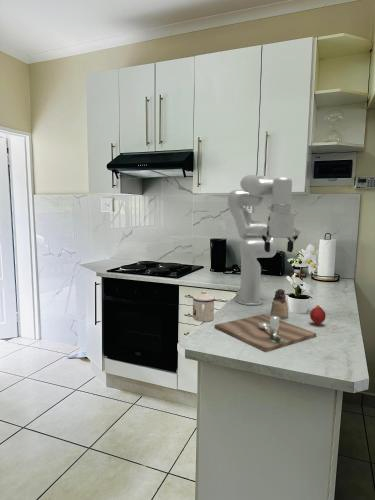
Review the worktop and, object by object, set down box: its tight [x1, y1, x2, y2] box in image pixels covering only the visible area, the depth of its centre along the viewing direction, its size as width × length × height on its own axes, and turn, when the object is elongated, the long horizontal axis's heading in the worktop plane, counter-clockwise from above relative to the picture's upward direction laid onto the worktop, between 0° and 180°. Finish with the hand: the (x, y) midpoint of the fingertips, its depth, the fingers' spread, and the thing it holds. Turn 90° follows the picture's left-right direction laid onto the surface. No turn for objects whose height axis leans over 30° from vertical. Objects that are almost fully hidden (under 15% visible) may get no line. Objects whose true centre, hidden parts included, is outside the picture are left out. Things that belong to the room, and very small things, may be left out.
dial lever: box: [259, 315, 281, 341], centre depth 119 cm, size 15×4×7 cm, turn 8°
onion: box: [309, 304, 327, 325], centre depth 135 cm, size 6×6×8 cm
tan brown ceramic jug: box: [270, 288, 289, 320], centre depth 144 cm, size 7×7×12 cm
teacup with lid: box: [192, 290, 216, 323], centre depth 137 cm, size 12×9×12 cm
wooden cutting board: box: [214, 313, 317, 353], centre depth 125 cm, size 26×26×1 cm
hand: (278, 251), depth 137 cm, fingers open, 9 cm apart
